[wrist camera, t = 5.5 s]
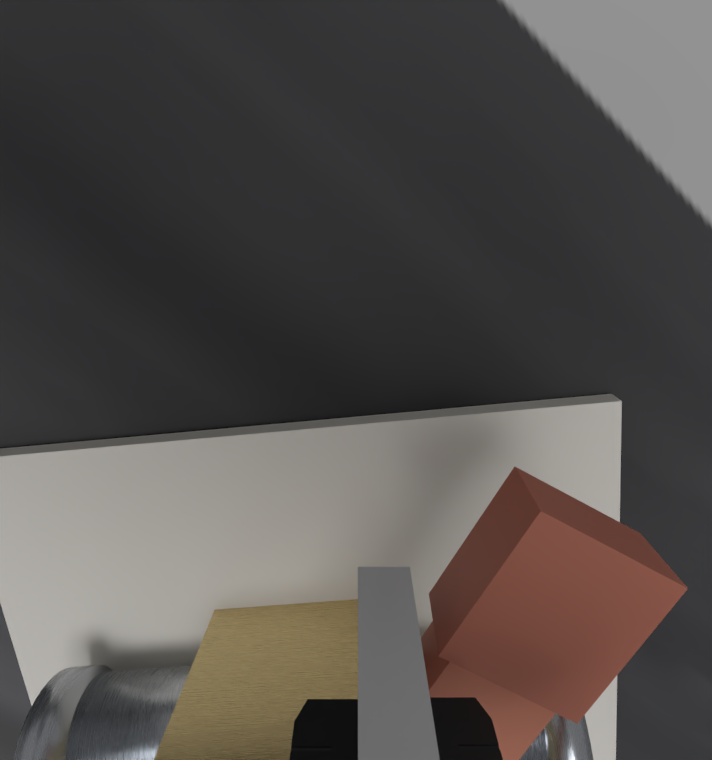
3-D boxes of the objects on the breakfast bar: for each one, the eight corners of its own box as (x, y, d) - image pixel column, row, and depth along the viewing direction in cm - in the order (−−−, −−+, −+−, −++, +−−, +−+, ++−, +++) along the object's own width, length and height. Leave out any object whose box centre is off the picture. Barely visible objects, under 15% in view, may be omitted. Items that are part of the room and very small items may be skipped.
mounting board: (-28, 451, 25) (-44, 460, 24) (611, 393, 24) (621, 401, 23) (78, 808, 30) (69, 827, 29) (606, 778, 29) (615, 798, 28)
